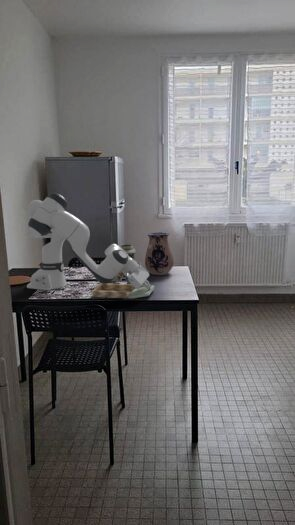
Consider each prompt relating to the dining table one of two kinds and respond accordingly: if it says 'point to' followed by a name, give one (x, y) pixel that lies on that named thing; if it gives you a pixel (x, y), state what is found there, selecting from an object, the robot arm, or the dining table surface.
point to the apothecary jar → (129, 250)
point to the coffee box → (118, 277)
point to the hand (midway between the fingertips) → (150, 288)
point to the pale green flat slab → (141, 292)
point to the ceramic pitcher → (158, 254)
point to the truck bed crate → (112, 290)
